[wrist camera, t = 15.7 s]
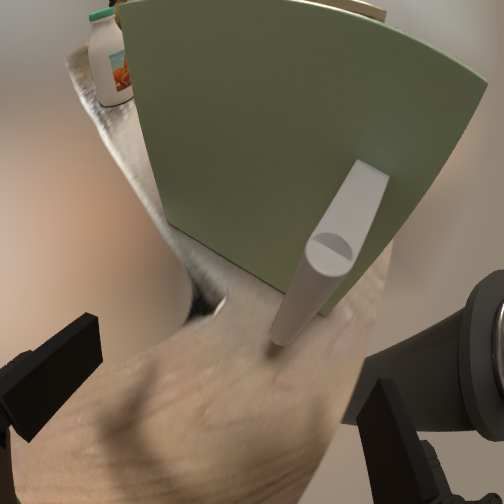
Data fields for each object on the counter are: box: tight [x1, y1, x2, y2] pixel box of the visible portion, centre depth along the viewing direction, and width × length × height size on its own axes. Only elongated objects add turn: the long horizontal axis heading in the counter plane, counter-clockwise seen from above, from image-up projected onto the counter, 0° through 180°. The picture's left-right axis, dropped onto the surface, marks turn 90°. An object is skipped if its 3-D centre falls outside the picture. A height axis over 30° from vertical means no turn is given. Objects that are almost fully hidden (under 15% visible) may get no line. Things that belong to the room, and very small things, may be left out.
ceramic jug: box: [109, 0, 127, 31], centre depth 64 cm, size 17×15×30 cm
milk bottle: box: [88, 7, 134, 106], centre depth 34 cm, size 8×8×20 cm
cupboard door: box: [118, 0, 488, 346], centre depth 15 cm, size 7×18×22 cm, turn 57°
